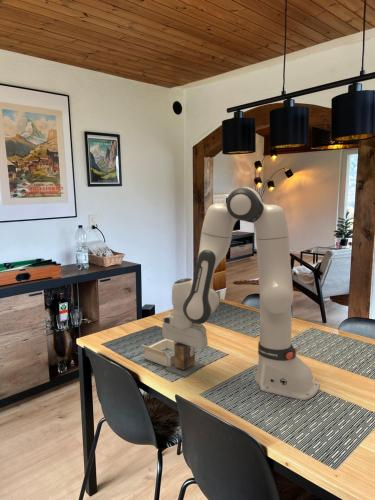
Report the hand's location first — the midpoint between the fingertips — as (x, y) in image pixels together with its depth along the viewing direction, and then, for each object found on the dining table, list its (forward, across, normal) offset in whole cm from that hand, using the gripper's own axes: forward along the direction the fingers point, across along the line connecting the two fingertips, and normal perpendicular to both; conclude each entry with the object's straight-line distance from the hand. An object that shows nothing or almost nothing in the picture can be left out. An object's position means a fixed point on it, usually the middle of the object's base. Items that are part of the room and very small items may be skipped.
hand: (184, 353), depth 145 cm
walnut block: (+5, 0, 0) cm, 5 cm away
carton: (+6, +13, -4) cm, 15 cm away
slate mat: (+6, 0, 0) cm, 6 cm away
